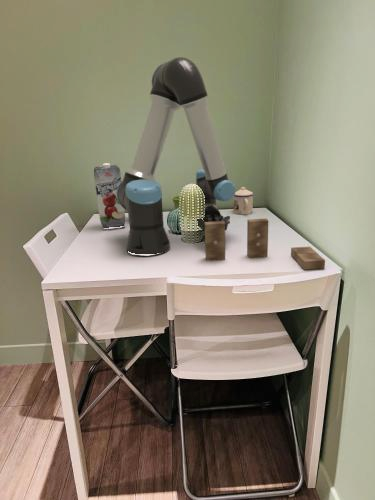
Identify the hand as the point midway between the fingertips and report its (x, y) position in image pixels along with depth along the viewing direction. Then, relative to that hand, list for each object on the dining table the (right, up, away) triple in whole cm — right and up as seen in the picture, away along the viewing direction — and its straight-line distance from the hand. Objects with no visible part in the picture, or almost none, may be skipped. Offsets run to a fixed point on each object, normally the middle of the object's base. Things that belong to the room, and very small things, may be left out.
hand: (218, 234), depth 117 cm
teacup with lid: (+16, +12, +54) cm, 58 cm away
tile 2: (+12, -7, +2) cm, 14 cm away
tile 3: (+26, -5, 0) cm, 26 cm away
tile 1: (-1, -8, +1) cm, 8 cm away
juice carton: (-42, +4, +41) cm, 59 cm away
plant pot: (-12, +11, +55) cm, 57 cm away
